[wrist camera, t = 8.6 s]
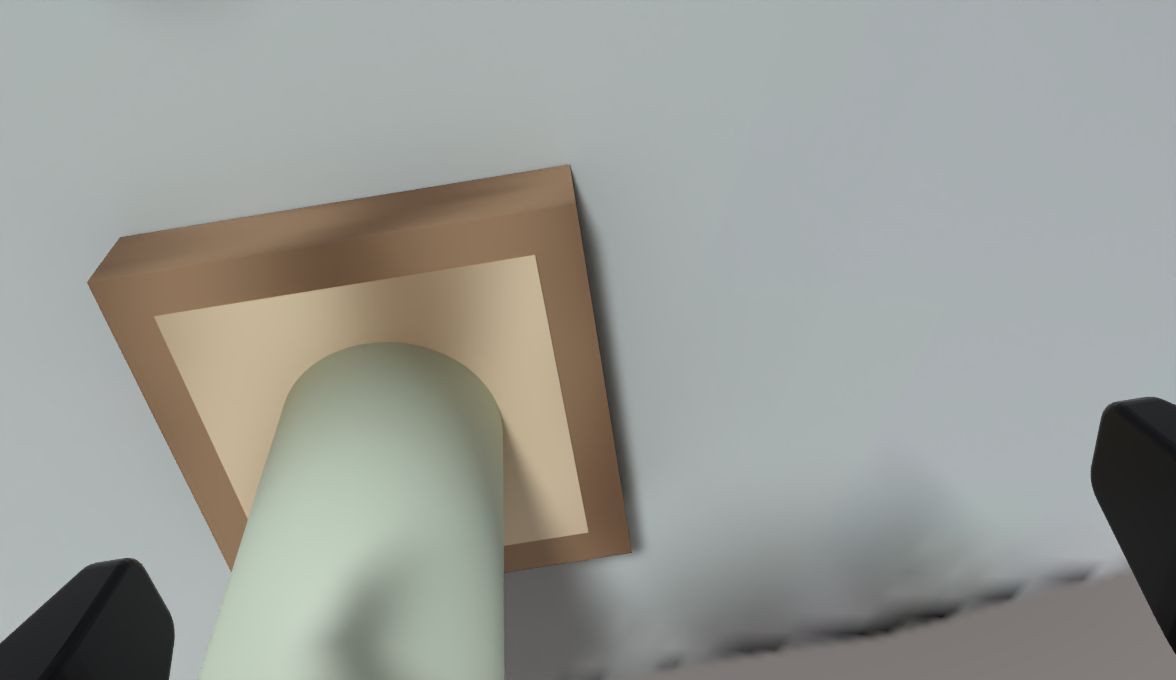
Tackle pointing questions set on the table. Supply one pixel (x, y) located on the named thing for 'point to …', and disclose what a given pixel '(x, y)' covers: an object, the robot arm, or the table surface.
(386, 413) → the sage capsule
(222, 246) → the plinth
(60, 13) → the table surface
